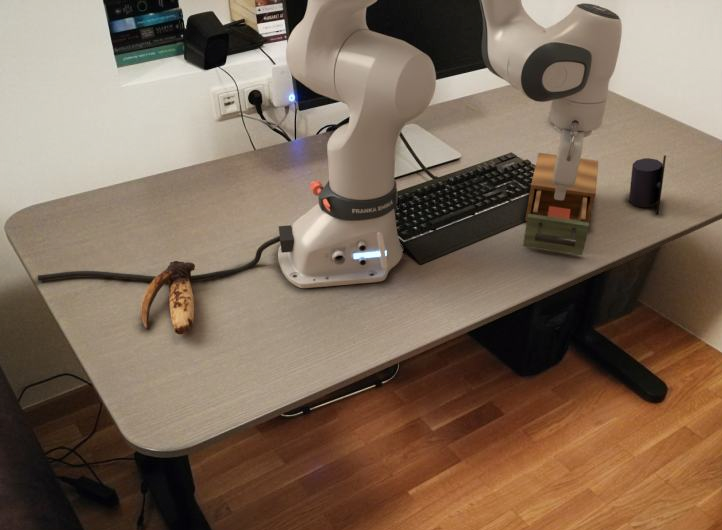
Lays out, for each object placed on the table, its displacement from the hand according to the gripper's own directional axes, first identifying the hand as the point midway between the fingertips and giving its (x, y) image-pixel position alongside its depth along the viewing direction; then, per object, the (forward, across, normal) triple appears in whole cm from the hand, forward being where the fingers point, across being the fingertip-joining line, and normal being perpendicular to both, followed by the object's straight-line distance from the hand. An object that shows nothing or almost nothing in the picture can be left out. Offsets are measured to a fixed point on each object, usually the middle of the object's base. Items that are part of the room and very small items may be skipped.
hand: (560, 186), depth 123 cm
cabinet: (+11, +12, -1) cm, 16 cm away
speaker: (+10, +19, -18) cm, 28 cm away
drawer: (+10, -1, -1) cm, 10 cm away
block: (+9, 0, -1) cm, 9 cm away
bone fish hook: (+14, -37, +59) cm, 71 cm away
